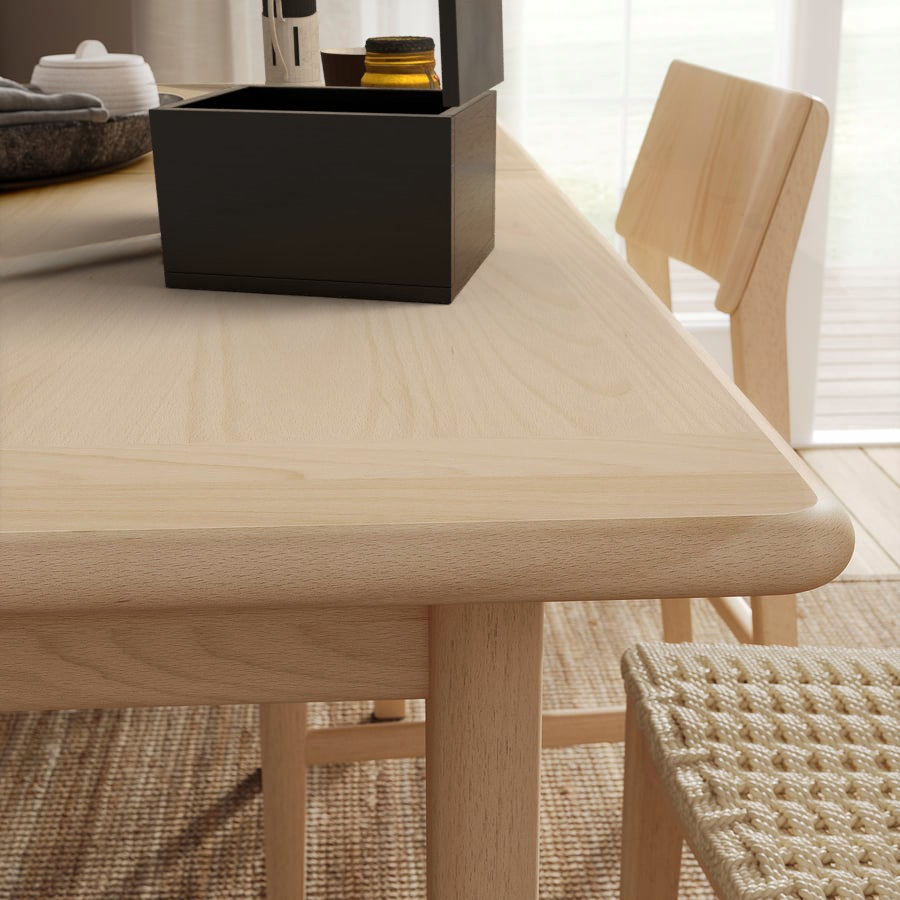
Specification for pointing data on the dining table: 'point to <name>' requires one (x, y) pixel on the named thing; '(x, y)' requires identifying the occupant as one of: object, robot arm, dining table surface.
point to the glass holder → (291, 42)
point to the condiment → (400, 63)
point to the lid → (470, 48)
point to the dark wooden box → (325, 191)
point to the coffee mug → (343, 66)
